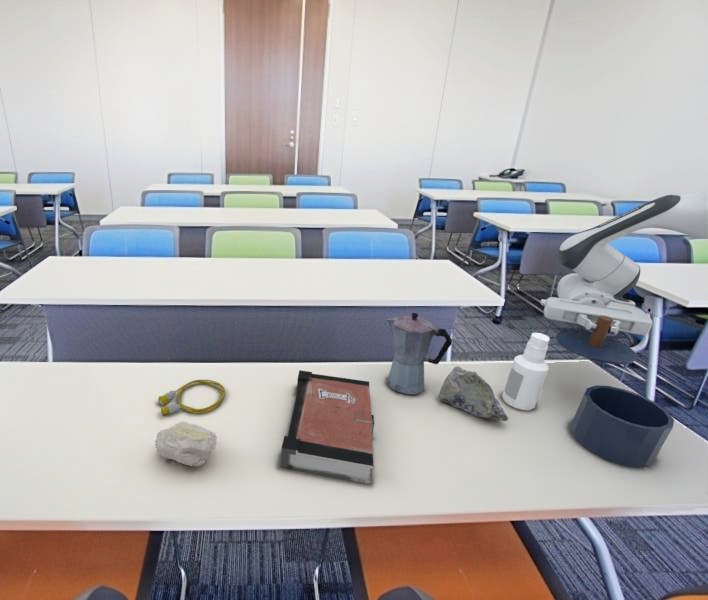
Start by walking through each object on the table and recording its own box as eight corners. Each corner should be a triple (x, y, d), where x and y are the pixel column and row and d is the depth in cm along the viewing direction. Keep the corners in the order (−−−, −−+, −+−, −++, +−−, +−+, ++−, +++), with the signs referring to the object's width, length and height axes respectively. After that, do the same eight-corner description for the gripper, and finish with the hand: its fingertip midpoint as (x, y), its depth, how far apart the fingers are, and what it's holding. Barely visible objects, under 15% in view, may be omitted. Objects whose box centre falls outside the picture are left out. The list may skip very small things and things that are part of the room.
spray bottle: (514, 390, 100) (535, 326, 92) (541, 406, 94) (566, 340, 87) (495, 396, 97) (515, 332, 90) (522, 414, 91) (546, 346, 84)
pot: (638, 431, 87) (656, 396, 83) (665, 477, 76) (688, 438, 72) (563, 413, 92) (578, 379, 88) (578, 453, 81) (595, 416, 77)
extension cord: (161, 385, 100) (161, 378, 99) (224, 381, 101) (224, 375, 100) (155, 417, 89) (154, 410, 88) (226, 413, 90) (226, 406, 89)
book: (374, 485, 73) (378, 465, 71) (280, 467, 76) (281, 447, 74) (369, 397, 96) (372, 380, 94) (298, 386, 100) (299, 370, 98)
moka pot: (383, 366, 109) (395, 300, 100) (443, 387, 100) (460, 316, 92) (370, 383, 101) (382, 313, 93) (434, 407, 93) (452, 332, 85)
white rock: (161, 439, 83) (153, 481, 74) (153, 410, 79) (145, 451, 70) (218, 433, 83) (218, 474, 75) (214, 404, 79) (213, 444, 71)
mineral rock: (508, 428, 87) (521, 391, 83) (463, 432, 86) (473, 394, 82) (472, 392, 99) (482, 357, 95) (432, 394, 98) (440, 360, 93)
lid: (621, 341, 96) (635, 311, 93) (645, 373, 84) (662, 340, 80) (549, 328, 102) (560, 299, 98) (561, 356, 89) (574, 324, 86)
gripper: (542, 287, 104) (553, 307, 92) (642, 302, 96) (667, 326, 85) (535, 309, 106) (544, 331, 95) (631, 325, 99) (654, 351, 87)
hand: (603, 329), depth 90 cm, fingers closed on lid, 2 cm apart
